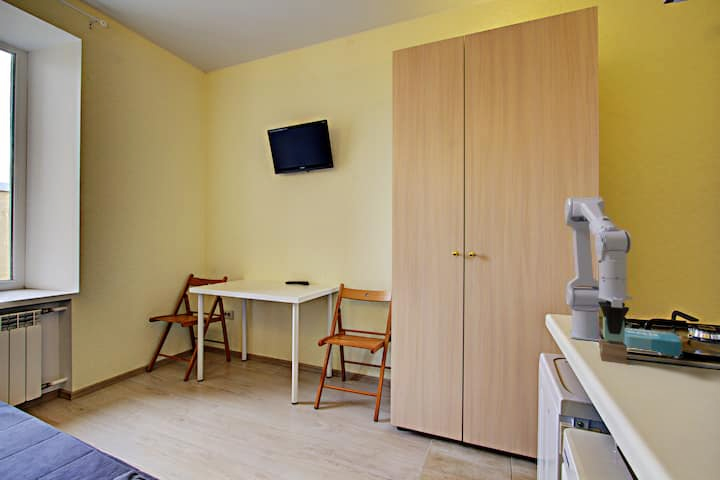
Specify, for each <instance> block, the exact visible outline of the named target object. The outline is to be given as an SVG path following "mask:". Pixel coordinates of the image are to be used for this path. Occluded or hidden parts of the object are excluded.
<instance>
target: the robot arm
mask: <svg viewBox="0 0 720 480" xmlns="http://www.w3.org/2000/svg"><path fill="white" fill-rule="evenodd" d="M605 208H606V203H605V200H604V199H603V197H601V196H597V197H575V198H571V197H568V198H567V199H566V200H565V203H564V221H565V225H566V226H568V227H570V228H571V231H572V239H573V255H574V256H573V257H574V271H575V277H574V278H573V279H571V280H569V281H568V282H567V284H566V285H565V287H566V289H565V302H566V304H567V306H568V307H569V308H571V330H570V331H569V333H570V338H571V339H575V340H585V341H594V342H599V339H602V337H601V334H600V311H601V312H602V315H603V317H606V321H607V326H608V331H609V333H610V334H619V335H620V332H621V328H622V324H623V320H624V321H625V317H626V316H627V313H629V311H630V308H629V307H628V306H626V304H625V302H626V301H631V300H633V301H634V297H633V296H630V295H627V294H628V291H627V290H628V289H627V288H628V287H627V286H628V285H627V283H628V281H627V280H628V279H627V254H628V253H629V252H630V250H631V246H632V239H631V236H630V233H629V231H628V230H623V229H620V228H618V226H617V225H616V224H615V222H614V221H613V219H612V218H611V217H609V216H607V215H605V210H606V209H605ZM591 235H592V236H593V238H594V248H595V253H596V259H597V260H598V280H597V279H596V278H594V269H593V258H592V257H593V256H592V242H591V241H592V240H591Z"/></svg>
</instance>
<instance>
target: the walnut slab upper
mask: <svg viewBox="0 0 720 480" xmlns="http://www.w3.org/2000/svg"><path fill="white" fill-rule="evenodd" d="M598 342H599V343H598V344H599V345H598V346H599V347H598V348H599V351H600V350H601V351H602V353H609V354H618V355H626V356H627V355H628V352H627V346H626V345H625V343H624V342H623V341H614V340H605V339H604V338H601V339H599V341H598Z"/></svg>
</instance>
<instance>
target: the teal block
mask: <svg viewBox="0 0 720 480" xmlns="http://www.w3.org/2000/svg"><path fill="white" fill-rule="evenodd" d="M625 328H626V327H625V319H624V320H623V324H622V328H621V332H620V335H619V334H610V333H609V331H608V326H607V321H606V317H604V316H602V337H603V339H605V340H614V341H623V342H625Z"/></svg>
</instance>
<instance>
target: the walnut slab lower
mask: <svg viewBox="0 0 720 480" xmlns="http://www.w3.org/2000/svg"><path fill="white" fill-rule="evenodd" d="M599 357H600V360H601V361H602V362H607V363H615V364H620V365H621V364H622V365H627V355H618V354H609V353H602V351H601V350H600V349H599Z"/></svg>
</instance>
